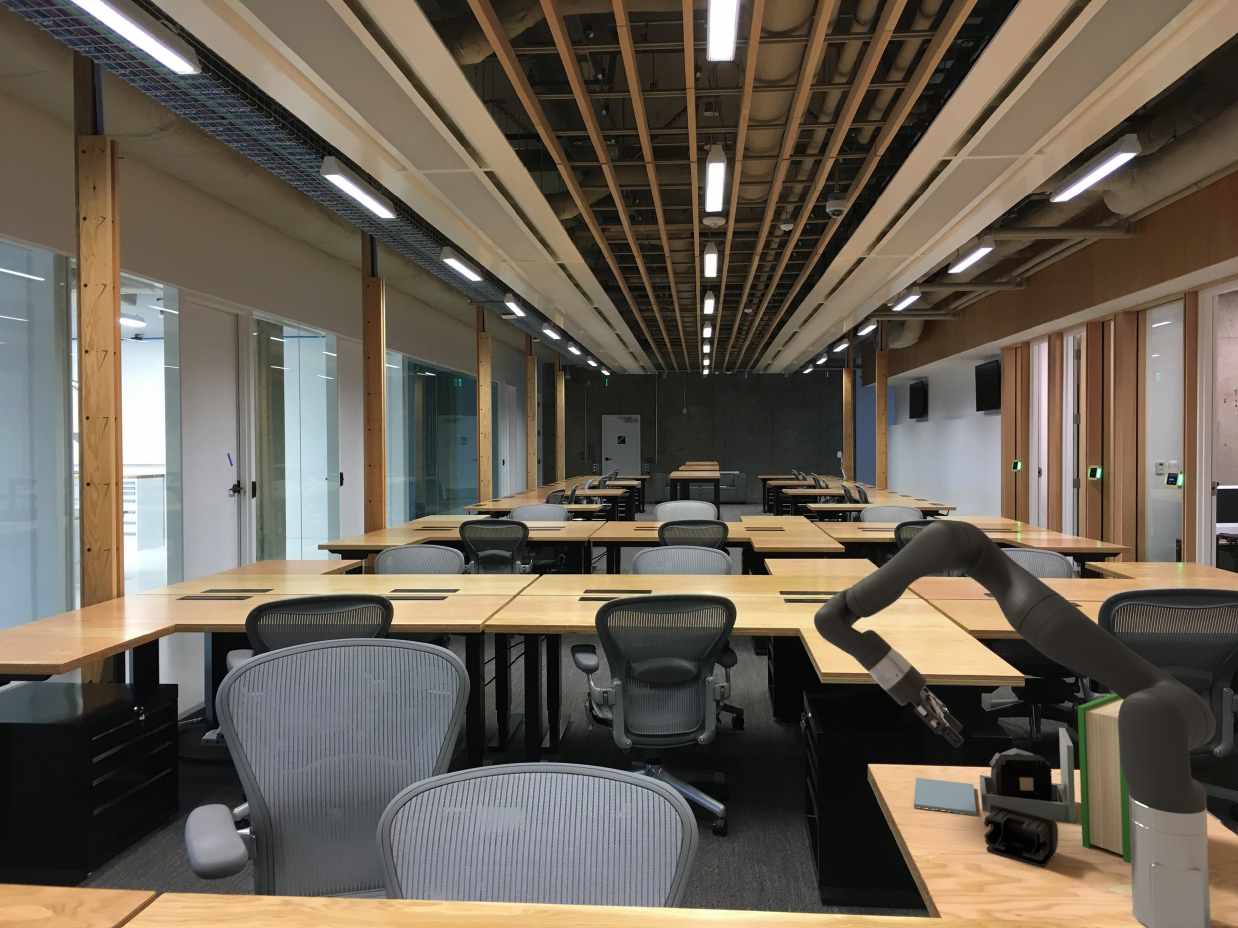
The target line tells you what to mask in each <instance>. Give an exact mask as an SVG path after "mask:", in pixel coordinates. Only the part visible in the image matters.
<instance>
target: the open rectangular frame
mask: <svg viewBox="0 0 1238 928" xmlns="http://www.w3.org/2000/svg"><path fill="white" fill-rule="evenodd" d="M1058 731H1059V733H1058V734H1059V758H1060V759H1059V761H1060V783H1056V782H1055V783H1054V782H1052V783H1051V784H1052V787H1051V788H1052V802H1051V801H1042V800H1034V799H1025V798H1016V797H1008V796H999V795H997V793H996V792H997V791H996V787H995V784H994V782H993V780H992V778H991V775H981V774H979V792H980V793H979V794H980V802H981V810H982V812H987V811H989V813H990V805H991V804H997V805H1001V806H1005V807H1009V808H1013V809H1016V810H1020V811H1024V812H1028V813H1032V814H1036V815H1040V816H1044V817H1048V818H1052V819H1054V820H1055V821H1062V822H1071V823H1076V822H1077V821H1076V819H1077V818H1076V817H1077V816H1076V797H1075V795H1076V792H1075V787H1076V786H1075V762H1074V761H1075V760H1074V758H1075V757H1074V744H1073V743H1072V739H1071V738H1070V735H1069V734H1068V732H1067V729H1066V728H1065V727H1059V730H1058ZM989 792H992V793H991V794H989ZM987 793H988V794H987Z"/></svg>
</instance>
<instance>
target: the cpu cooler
mask: <svg viewBox="0 0 1238 928" xmlns="http://www.w3.org/2000/svg"><path fill="white" fill-rule="evenodd" d="M989 765H990V767H991V768H990V769H991V771H990V776H991V778H992V780H993V782H994V784H995V787H996V791H997V792H996V793H995V794H996V795H999V796H1008V797H1016V798H1025V799H1034V800H1042V801H1051V802H1053V800H1052V788H1051V787H1052V784H1051V783H1053V778H1052V777H1053V776H1052V775H1053V774H1052V765H1051V764H1050V762H1048V761H1047V760H1046V759H1045V758H1044V757H1043V756H1041V754H1038V755H1037V754H1034V753H1032V752H1029V751H1025V750H1022V749H1018V748H1015V747H1013V748H1010V749H1008V750H1006V751H1003V752H1002V753H999V752H996V753H995V754H994V756H992V759H991V760H990V761H989Z"/></svg>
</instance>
